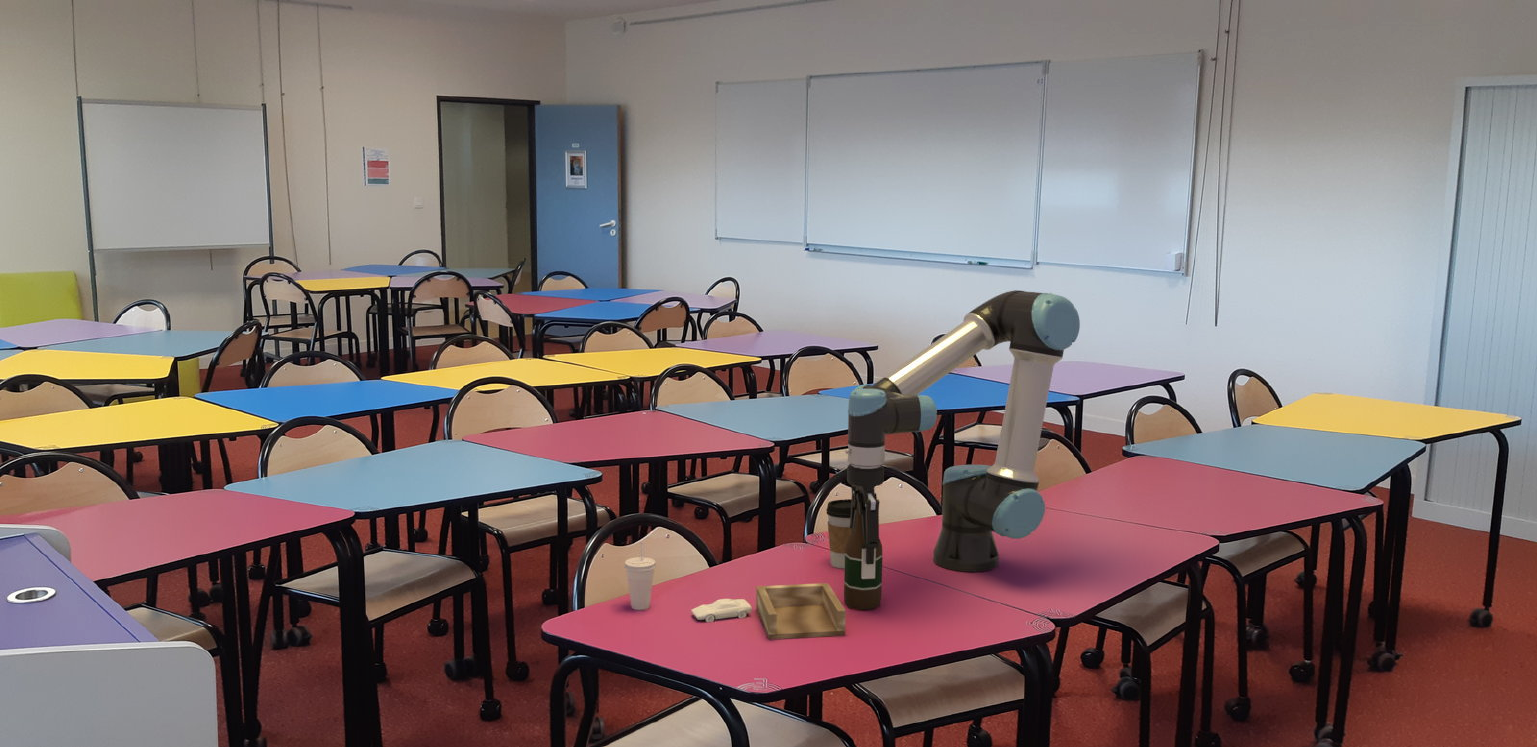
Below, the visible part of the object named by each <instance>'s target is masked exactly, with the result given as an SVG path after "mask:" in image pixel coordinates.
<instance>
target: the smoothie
mask: <svg viewBox="0 0 1537 747" xmlns="http://www.w3.org/2000/svg"><path fill="white" fill-rule="evenodd" d="M656 567H657V566H656V560H655V559H653V558H651V557H645V556H644V540H642V539H641V540H640V557H639V556H636V557H632V558H628V559H626V560H625V561H624V568H625V569H626V577H627V582H628V591H629V597H630V598H629V599H630V606H631V609H633V610H636V611H643V610H647V609H649V608H650V607H651V596H652V588H653V580H654V572H655V570H654V569H655V568H656Z"/></svg>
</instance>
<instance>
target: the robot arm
mask: <svg viewBox="0 0 1537 747" xmlns="http://www.w3.org/2000/svg"><path fill="white" fill-rule="evenodd" d="M1080 324H1081V322H1080V316H1079V313H1078V310H1077V308H1076V307H1075V306H1074V303H1073V302H1072V301H1071V300H1070V299H1069V298H1066V297H1065V296H1062V295H1060V294H1054V293H1052V292H1050V293H1048V292H1037V291H1036V292H1035V291H1025V290H1009V291H1005V292H1003V293H1001V294H999V295H995V296H994V297H992V298H990V299H988V300H987V301H984V303H982V304H980V305H978V306H976V307H975V308H974V309H972V310H971V311H969V312H968V313H966V314H965V315H964V317H963V322H961V323H960V324H958V325H957V326H955V327H954V328H952V329H951V330H949V332H947V333H946V334H944V335H943V336H942V337H940V338H938V339H937V340H936V341H934V342H933V343H931V344H930V345H928V346H927V347H926V348H924V349H922V350H921V351H920V352H918V353H917V354H916V355H914V356H913V357H911V358H910V359H909V360H907V361H905V362H904V363H902V364H901V365H900V366H898V367H897V368H895V369H894V370H892V371H891V372H890V373H888V374H886V376H884V377H882V378H881V379H880V380H879V381H876V382H874V383H873V384H860V385H859V386H857V387H855V388H854V389H853V390H852V391H851V392H850V394H849V398H848V399H849V400H848V408H847V409H848V410H847V415H848V417H847V427H848V428H847V429H848V430H847V431H848V432H847V439H848V440H847V446H848V448H847V449H845V450H844V452H845V454H846V455H847V462H848V463H849V464H848V465H847V467H846V476H847V477H846V480H847V483H848V484H849V485H851V486H850V488H851V516H850V529H852V532H853V531H854V527H855V521H856V509H857V502H858V507H859V514H860V515H861V516H862V529H863V544H864V545H863V546H860V548H861V549H862V568H861V578H862V579H873V578H875V559H876V548H879V539H880V529H879V528H880V527H879V526H880V524H879V523H880V522H879V521H880V519H879V518H880V516H879V514H880V511H879V509H880V503H881V502H880V500H879V499H878V498H877V492H875V488H876V487H877V486H881V485H883V484H884V478H885V467H884V466H883V464H885V458H886V457H885V456H886V455H885V453H886V450H885V449H886V444H885V441H886V435H893V434H894V435H895V434H907V433H919V432H925V431H929V430H930V429H932V428H933V427H934V426H935V424H936V422H937V419H938V416H937V413H938V410H937V406H936V403H935V402H934V399H932V398H931V397H930V396H929V395H926V394H923V395H922V394H921V393H922V392H924V391H925V390H927V389H928V388H929V387H931V386H933V385H934V384H935V383H937V382H938V381H939V380H941V379H942V378H944V377H945V376H946V375H948V374H949V373H951V372H952V371H954V370H955V369H957V368H958V367H960V366H961V365H963V363H965V362H967V361H968V360H969V359H971V358H973V356H975V355H977V354H978V353H979V352H981V351H982V350H985V351H986V350H987V351H988V350H992V349H993V348H994V347H996V346H997V345H1000V344H1002V343H1007V342H1009V348H1008V350H1009V352H1010V353H1011V354H1012V356H1013V365H1012V369H1011V375H1010V381H1009V386H1008V392H1007V398H1006V402H1005V408H1004V413H1003V418H1002V423H1001V424H1002V425H1001V429H1000V432H999V433H1000V434H999V439H998V440H999V441H998V445H997V451H996V455H995V461H994V463H993V464H992V465H988V464H960V465H953V466H950V467H948V468H946V469H945V471H944V472H943V480H942V511H941V512H942V513H941V514H942V515H941V516H942V518H941V521H942V522H941V530H940V532H939V536H938V538H937V540H936V542H935V546H934V549H933V557H932V558H933V559H932V560H933V562H934V563H935V564H936V565H937V566H940V567H941V568H945V569H948V570H952V571H959V572H968V573H969V572H971V573H973V572H985V571H986V572H987V571H990V570H993V569H995V568H997V567H998V566H999V560H1000V558H999V557H1000V555H999V551H998V547H997V543H996V540H995V537H994V534H993V532H994V533H995V534H997V535H999V536H1001V537H1007V538H1009V539H1016V540H1018V539H1023V538H1026V537H1029V535H1031V534H1032V532H1034V531H1036V530H1037V529H1038V528H1039V526H1040V525H1041V523H1042V521H1043V519H1044V516H1045V513H1046V503H1045V500H1044V498H1043V496H1042V494H1041V493H1040V492H1039V491H1038V488H1039V484H1040V478H1039V477H1038V476H1037V475H1036V473H1035V467H1036V466H1035V465H1036V461H1037V455H1038V452H1039V447H1040V446H1039V445H1040V441H1041V434H1042V430H1043V424H1044V419H1045V415H1046V409H1047V403H1048V399H1049V398H1048V397H1049V393H1050V387H1051V381H1052V378H1053V371H1054V368H1055V367H1054V366H1055V365H1056V363H1059V362H1060V361H1061V360H1062V359H1063V356H1064V351H1065V350H1066V349H1068V348H1070V347H1072V345H1073V343H1074V342H1076V341H1077V338H1078V336H1079V334H1080V333H1079V332H1080V327H1081V325H1080ZM920 394H921V395H920ZM857 493H860V494H857ZM856 495H857V498H856ZM863 510H866V511H863Z"/></svg>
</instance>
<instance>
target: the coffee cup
mask: <svg viewBox="0 0 1537 747" xmlns="http://www.w3.org/2000/svg"><path fill="white" fill-rule="evenodd" d="M851 499H852V498H851ZM851 499H850V498H849V499H836V500H831V501H829V502H827V507H826V515H828V516H827V517H828V518H827V519H828V521H827V530H828V542H829V543H828V544H829V555H830V566H832V567H833V568H835V569H844V570H845V548H846V543H847V540H848V538H849V536H850V535H851V534H852V529H850V516H851Z"/></svg>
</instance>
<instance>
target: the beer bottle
mask: <svg viewBox="0 0 1537 747" xmlns="http://www.w3.org/2000/svg"><path fill="white" fill-rule="evenodd" d="M857 494H860V493H857ZM856 498H857V495H856ZM863 511H866V510H863ZM863 545H864V544H863V529H862V516H861V515H860V514H859V507H858V502H857V509H856V521H855V527H854V531H853V532H852V534H851V535H850V536H849V538H848V540H847V543H846V548H845V569H844V578H843V579H844V580H843V581H844V582H843V583H844V584H843V598H844V599H843V600H844V604H845V605H846V606H847V607H848V608H849V609H852V610H858V611H870V610H876V609H877V608H878V607H879V606H880V605H881V603H882V585H883V584H882V583H883V582H882V581H883V555H884V554H883V545H882V543H881V539H880V538H879V548H876V559H875V578H873V579H862V578H861V568H862V549H861V548H860V546H863Z"/></svg>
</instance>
